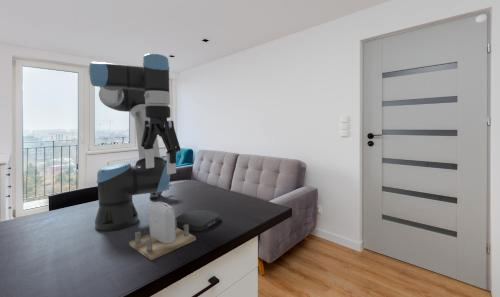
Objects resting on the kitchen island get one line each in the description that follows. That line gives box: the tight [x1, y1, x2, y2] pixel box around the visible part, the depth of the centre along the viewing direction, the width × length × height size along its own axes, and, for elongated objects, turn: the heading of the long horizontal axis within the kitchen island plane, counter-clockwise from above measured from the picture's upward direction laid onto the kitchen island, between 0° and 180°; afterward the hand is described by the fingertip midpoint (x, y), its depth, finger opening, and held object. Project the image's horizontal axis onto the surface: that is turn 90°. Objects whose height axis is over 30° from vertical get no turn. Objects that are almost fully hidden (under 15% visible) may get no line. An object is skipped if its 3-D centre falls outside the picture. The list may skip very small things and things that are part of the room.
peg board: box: [128, 218, 197, 261], centre depth 80 cm, size 14×16×5 cm
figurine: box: [149, 182, 172, 201], centre depth 130 cm, size 9×12×15 cm
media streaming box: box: [175, 209, 220, 232], centre depth 97 cm, size 15×15×3 cm
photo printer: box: [148, 201, 176, 244], centre depth 80 cm, size 10×4×12 cm, turn 54°
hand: (160, 170), depth 80 cm, fingers open, 13 cm apart
